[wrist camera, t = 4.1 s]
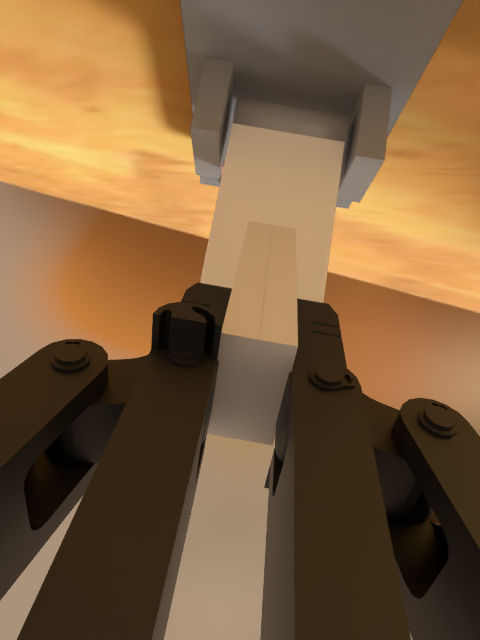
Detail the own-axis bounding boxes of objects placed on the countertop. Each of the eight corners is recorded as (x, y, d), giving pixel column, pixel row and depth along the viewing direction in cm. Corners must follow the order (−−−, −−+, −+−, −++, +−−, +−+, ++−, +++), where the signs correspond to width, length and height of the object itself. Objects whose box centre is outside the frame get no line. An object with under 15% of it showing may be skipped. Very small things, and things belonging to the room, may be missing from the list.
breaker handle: (343, 139, 22) (302, 440, 19) (232, 120, 23) (172, 416, 19) (358, 102, 20) (314, 442, 16) (233, 81, 20) (164, 415, 17)
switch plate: (352, 169, 31) (341, 258, 29) (208, 144, 31) (190, 232, 29) (519, -173, 13) (512, 6, 12) (184, -226, 13) (134, -56, 12)
